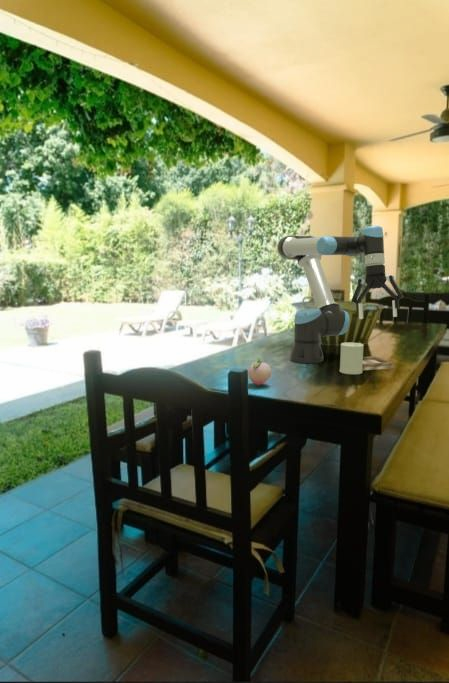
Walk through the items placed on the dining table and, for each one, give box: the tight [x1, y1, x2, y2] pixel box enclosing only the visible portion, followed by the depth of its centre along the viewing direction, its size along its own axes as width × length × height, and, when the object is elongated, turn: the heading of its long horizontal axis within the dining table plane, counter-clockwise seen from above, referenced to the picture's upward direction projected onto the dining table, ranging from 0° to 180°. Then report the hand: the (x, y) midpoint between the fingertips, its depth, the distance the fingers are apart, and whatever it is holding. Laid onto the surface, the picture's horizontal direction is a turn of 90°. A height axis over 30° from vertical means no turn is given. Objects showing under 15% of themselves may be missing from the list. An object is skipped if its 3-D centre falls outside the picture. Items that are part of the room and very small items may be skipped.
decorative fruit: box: [247, 358, 272, 387], centre depth 165 cm, size 9×8×10 cm
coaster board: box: [362, 355, 394, 371], centre depth 197 cm, size 14×14×2 cm
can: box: [339, 341, 365, 375], centre depth 186 cm, size 9×9×12 cm
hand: (377, 318), depth 183 cm, fingers open, 13 cm apart
